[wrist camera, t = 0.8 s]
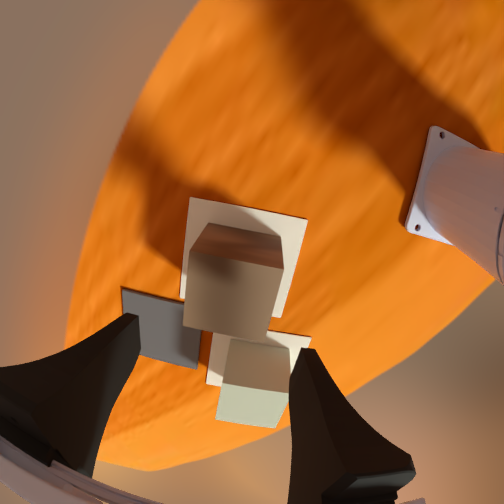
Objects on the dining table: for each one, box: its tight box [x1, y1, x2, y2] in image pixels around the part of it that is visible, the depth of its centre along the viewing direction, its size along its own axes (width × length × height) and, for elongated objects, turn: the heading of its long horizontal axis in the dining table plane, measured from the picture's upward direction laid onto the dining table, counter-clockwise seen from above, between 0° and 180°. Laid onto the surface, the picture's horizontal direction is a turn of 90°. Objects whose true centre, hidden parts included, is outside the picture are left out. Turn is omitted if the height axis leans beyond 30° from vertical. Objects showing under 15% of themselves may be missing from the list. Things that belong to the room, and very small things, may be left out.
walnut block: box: [183, 222, 284, 342], centre depth 18 cm, size 5×5×5 cm
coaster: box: [122, 288, 201, 369], centre depth 24 cm, size 7×7×1 cm
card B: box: [206, 330, 312, 386], centre depth 24 cm, size 8×8×1 cm
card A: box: [180, 197, 308, 318], centre depth 21 cm, size 8×8×1 cm
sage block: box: [215, 339, 291, 428], centre depth 22 cm, size 5×5×5 cm
